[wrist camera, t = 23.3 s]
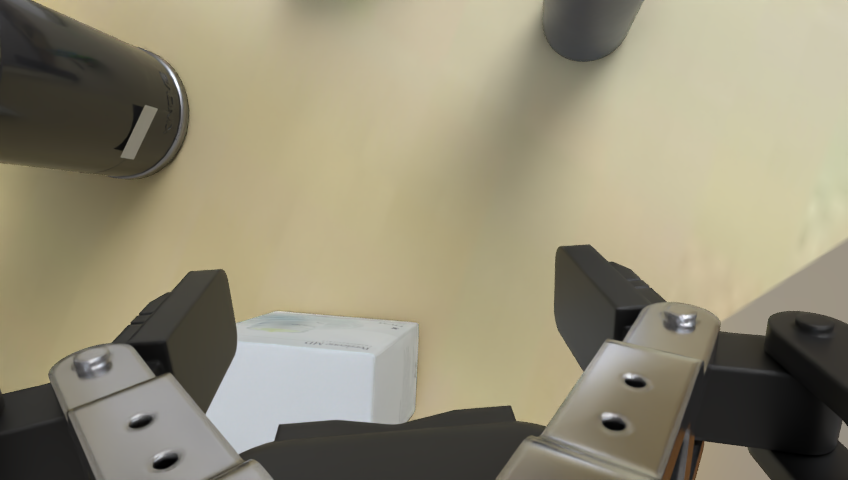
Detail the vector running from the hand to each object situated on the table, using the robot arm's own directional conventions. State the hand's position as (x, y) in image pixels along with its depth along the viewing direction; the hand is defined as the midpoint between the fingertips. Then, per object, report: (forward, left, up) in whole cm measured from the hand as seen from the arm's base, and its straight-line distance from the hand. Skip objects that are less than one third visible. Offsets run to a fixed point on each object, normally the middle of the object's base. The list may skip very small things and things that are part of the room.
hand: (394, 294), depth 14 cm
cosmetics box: (-10, -7, -23) cm, 26 cm away
